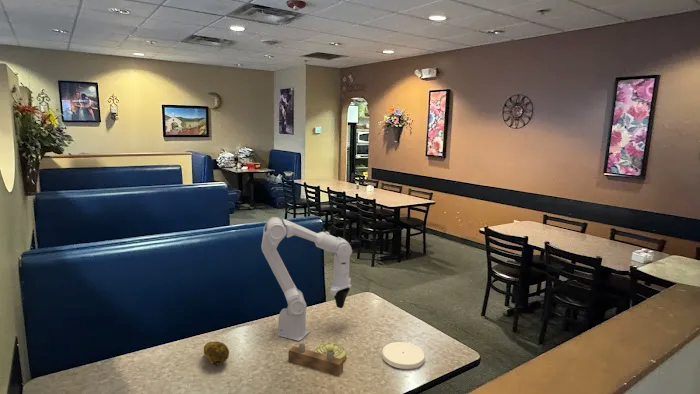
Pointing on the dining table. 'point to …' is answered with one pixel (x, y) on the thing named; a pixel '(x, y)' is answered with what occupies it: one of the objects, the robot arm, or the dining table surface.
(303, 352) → the bar
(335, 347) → the decorated donut
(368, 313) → the dining table surface
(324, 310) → the dining table surface
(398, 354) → the plastic lid
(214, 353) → the potato
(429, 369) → the dining table surface
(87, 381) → the dining table surface
